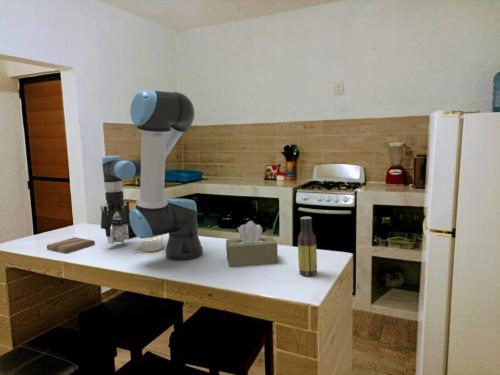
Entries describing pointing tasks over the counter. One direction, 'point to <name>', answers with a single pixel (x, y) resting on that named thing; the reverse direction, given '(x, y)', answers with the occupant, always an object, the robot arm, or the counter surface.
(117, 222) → the container
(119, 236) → the game die
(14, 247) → the counter surface
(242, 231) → the tissue box
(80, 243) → the board
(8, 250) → the counter surface
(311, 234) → the sauce bottle
